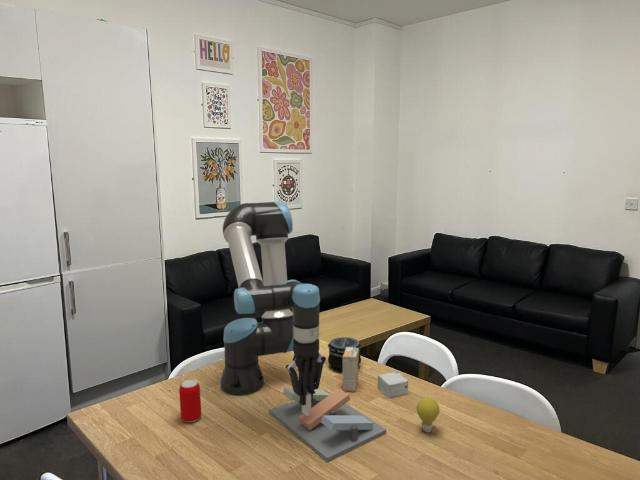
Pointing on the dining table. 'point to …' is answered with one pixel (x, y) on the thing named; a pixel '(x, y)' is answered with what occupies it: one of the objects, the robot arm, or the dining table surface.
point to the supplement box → (350, 369)
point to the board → (325, 430)
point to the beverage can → (190, 401)
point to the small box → (392, 384)
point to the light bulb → (427, 412)
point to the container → (341, 352)
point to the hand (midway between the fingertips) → (306, 413)
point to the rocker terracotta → (324, 408)
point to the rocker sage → (289, 393)
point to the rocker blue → (346, 422)
